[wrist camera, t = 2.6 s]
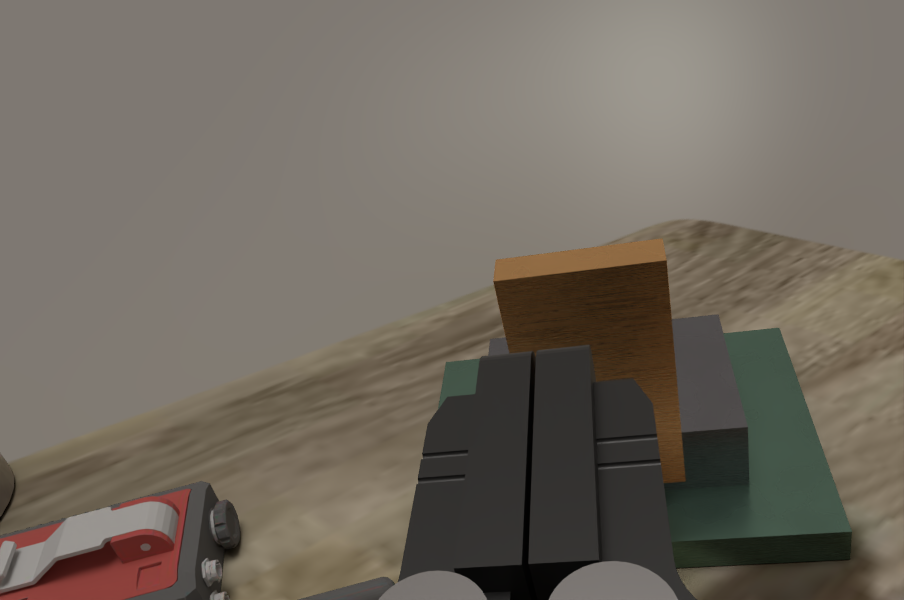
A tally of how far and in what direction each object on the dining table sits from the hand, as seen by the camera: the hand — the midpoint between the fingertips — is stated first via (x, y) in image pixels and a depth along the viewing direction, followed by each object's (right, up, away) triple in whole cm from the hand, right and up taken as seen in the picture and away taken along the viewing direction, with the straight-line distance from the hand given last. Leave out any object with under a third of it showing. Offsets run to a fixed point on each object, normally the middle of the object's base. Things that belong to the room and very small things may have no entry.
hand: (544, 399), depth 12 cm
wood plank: (+5, -3, +21) cm, 22 cm away
